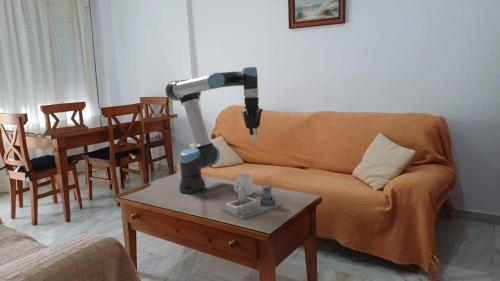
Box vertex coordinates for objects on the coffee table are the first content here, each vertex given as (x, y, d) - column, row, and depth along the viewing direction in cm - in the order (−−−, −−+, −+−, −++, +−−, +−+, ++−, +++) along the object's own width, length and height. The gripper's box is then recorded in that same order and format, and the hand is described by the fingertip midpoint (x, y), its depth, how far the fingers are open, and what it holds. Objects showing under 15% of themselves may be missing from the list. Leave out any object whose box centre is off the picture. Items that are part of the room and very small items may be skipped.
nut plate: (222, 210, 187) (220, 191, 185) (259, 198, 201) (258, 180, 200) (242, 219, 174) (240, 198, 173) (280, 205, 189) (279, 186, 187)
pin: (236, 208, 185) (236, 188, 183) (241, 205, 188) (241, 186, 186) (242, 209, 183) (242, 190, 181) (247, 207, 186) (247, 187, 184)
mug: (240, 198, 202) (238, 180, 201) (229, 195, 208) (228, 177, 206) (255, 193, 211) (255, 175, 209) (245, 190, 216) (244, 172, 215)
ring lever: (260, 193, 205) (259, 189, 204) (272, 192, 205) (272, 188, 204) (261, 205, 187) (260, 200, 186) (274, 204, 187) (274, 200, 186)
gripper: (245, 98, 195) (248, 143, 199) (265, 95, 203) (267, 139, 207) (237, 97, 201) (239, 141, 205) (256, 95, 208) (258, 138, 213)
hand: (253, 140), depth 206 cm, fingers closed
